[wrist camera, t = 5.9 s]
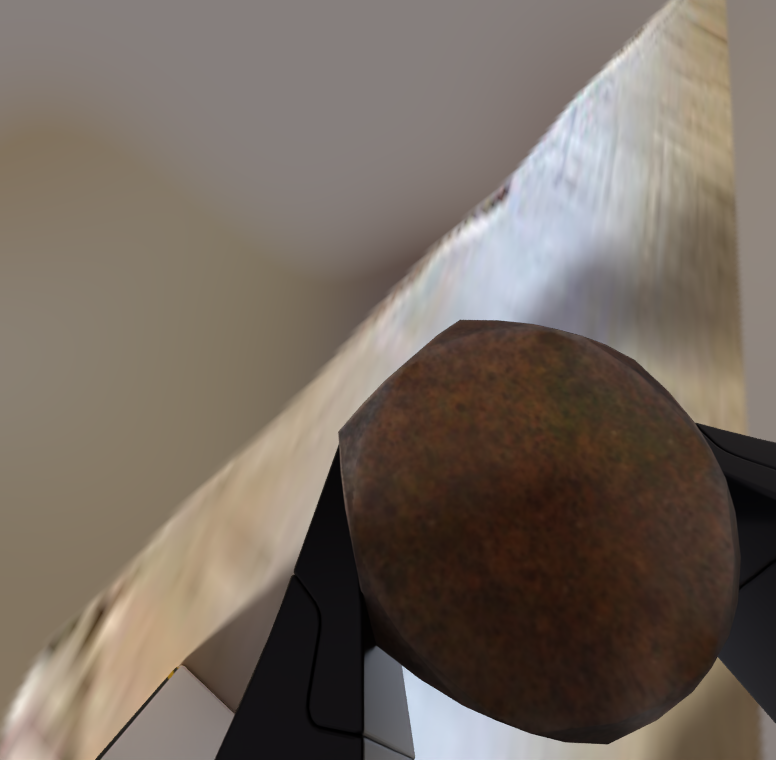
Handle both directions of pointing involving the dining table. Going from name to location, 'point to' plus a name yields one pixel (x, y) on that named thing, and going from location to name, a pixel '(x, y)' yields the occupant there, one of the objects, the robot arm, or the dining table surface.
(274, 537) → the dining table surface
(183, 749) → the medicine bottle
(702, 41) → the dining table surface
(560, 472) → the bolt
